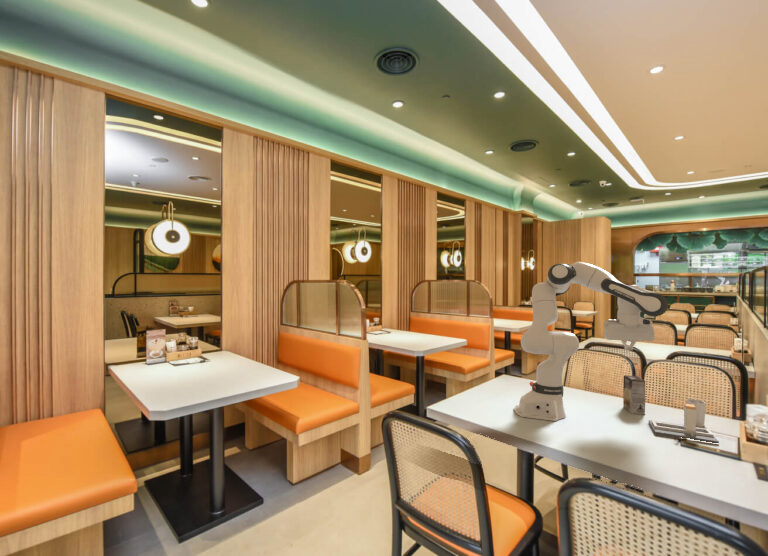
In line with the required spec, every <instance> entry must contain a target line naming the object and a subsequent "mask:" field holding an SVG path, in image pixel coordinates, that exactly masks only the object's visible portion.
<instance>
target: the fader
mask: <svg viewBox="0 0 768 556" xmlns="http://www.w3.org/2000/svg"><path fill="white" fill-rule="evenodd" d="M683 412H684V413H683V425H684V429H685V430H690V431H696V427H697V426H696V407H695V406H694V405H692V404H686V403H683Z"/></svg>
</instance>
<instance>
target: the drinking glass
mask: <svg viewBox="0 0 768 556" xmlns="http://www.w3.org/2000/svg"><path fill="white" fill-rule="evenodd" d="M685 404H692V405H694V406H695V407H696V427H705V421H706V405H707V404H706V402H705V401H703V400H701V399H695V398H686V400H685Z"/></svg>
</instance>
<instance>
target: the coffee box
mask: <svg viewBox="0 0 768 556" xmlns="http://www.w3.org/2000/svg"><path fill="white" fill-rule="evenodd" d="M622 392H623V393H622V394H623V395H622V396H623V397H622V398H623V404H622V405H623V406H622V407H623V408H624V409H625V410H626V411H628V412H629V413H630V414H633V415H634V414H635V415H645V414H646V380H644V379H643V378H641V377H640V376H638V375H623V391H622Z"/></svg>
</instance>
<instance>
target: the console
mask: <svg viewBox="0 0 768 556" xmlns="http://www.w3.org/2000/svg"><path fill="white" fill-rule="evenodd" d="M648 426H649V427H650V429H651V430H652V432H653V433H654V435H655V436H657V437H658V436H659V437H665V438H668V439H669V438H670V439H676V438H679V437H682V438H690V439H694V440H700V441H706V442H712V443H720V441H719V440H718V439H717V438H716V437H715V435H714V434H713V432H712V431H711V430H710V429H709V428H707V427H706V428H705V427H701V426H696V431H690V430H685V429H684V424H680V423H679V424H678V423H671V422H664V421H658V420H652V419H651V420H648Z"/></svg>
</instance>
